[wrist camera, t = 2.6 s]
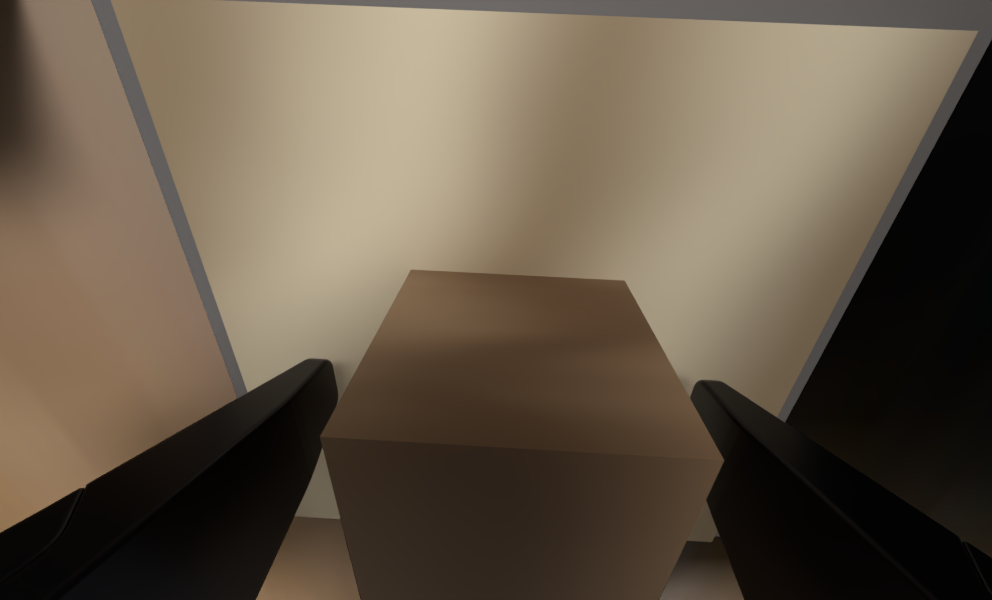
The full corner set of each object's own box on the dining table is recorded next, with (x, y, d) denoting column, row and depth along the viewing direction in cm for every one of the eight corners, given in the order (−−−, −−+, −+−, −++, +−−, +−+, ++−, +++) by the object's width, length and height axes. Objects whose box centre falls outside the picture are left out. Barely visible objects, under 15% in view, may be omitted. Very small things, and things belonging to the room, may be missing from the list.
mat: (1006, -39, 6) (1037, -45, 6) (717, 524, 13) (723, 536, 12) (86, -73, 6) (60, -82, 6) (285, 497, 13) (278, 509, 13)
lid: (924, 36, 6) (1842, -61, 2) (700, 515, 12) (801, 751, 8) (154, 5, 6) (-573, -147, 2) (303, 491, 12) (192, 708, 8)
